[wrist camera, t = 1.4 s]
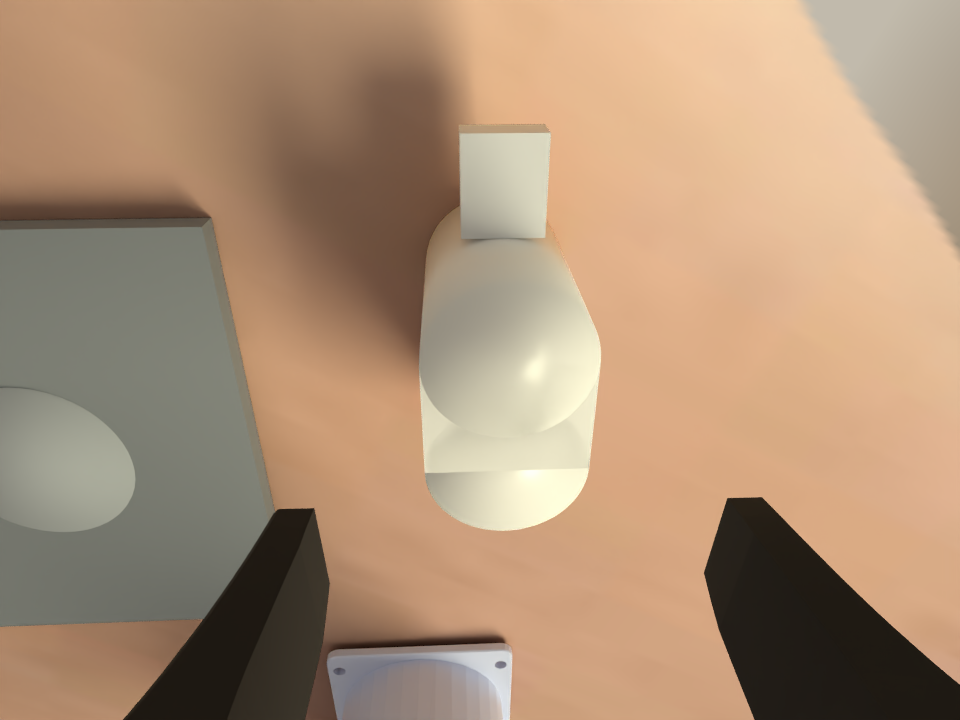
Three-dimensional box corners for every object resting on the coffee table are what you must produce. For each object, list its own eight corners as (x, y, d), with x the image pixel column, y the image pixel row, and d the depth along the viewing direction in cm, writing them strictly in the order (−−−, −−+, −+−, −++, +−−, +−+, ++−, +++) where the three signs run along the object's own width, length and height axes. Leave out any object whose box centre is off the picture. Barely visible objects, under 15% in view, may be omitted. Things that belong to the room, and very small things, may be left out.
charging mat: (293, 599, 26) (289, 617, 26) (-60, 612, 26) (-76, 631, 25) (211, 217, 18) (200, 227, 17) (-308, 225, 18) (-343, 236, 17)
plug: (549, 399, 22) (582, 527, 17) (432, 402, 22) (428, 533, 17) (569, 106, 17) (623, 159, 12) (419, 107, 17) (407, 161, 12)
